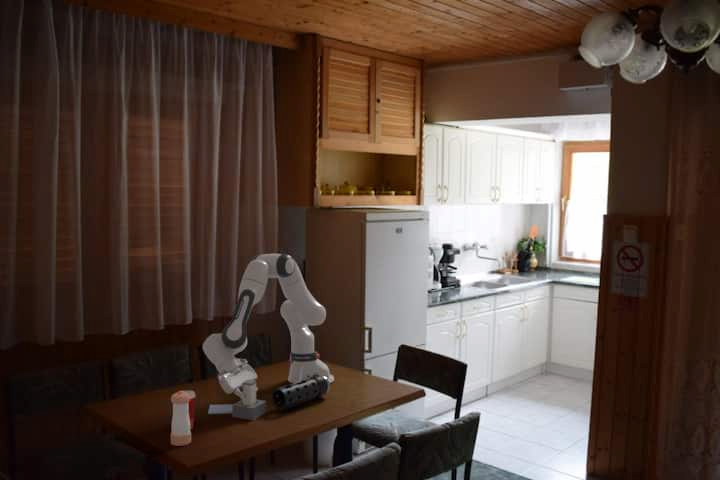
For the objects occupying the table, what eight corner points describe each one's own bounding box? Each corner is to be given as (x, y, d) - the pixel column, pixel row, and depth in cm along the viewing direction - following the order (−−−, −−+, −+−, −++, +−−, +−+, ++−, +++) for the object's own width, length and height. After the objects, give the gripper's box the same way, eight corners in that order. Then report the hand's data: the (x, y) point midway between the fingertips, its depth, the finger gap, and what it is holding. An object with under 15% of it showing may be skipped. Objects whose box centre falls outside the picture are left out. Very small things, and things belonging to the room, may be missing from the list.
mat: (233, 405, 285) (233, 404, 285) (232, 413, 276) (232, 412, 275) (210, 406, 284) (210, 404, 284) (207, 414, 274) (207, 412, 274)
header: (245, 409, 281) (245, 397, 281) (266, 412, 277) (266, 401, 277) (232, 416, 272) (232, 404, 271) (253, 420, 268) (253, 408, 268)
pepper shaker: (166, 444, 243) (166, 392, 241) (178, 437, 249) (178, 387, 248) (183, 447, 240) (182, 395, 238) (195, 440, 247) (194, 389, 245)
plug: (247, 412, 277) (247, 379, 276) (256, 414, 276) (256, 380, 274) (242, 415, 273) (242, 382, 272) (251, 417, 272) (251, 383, 271)
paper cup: (179, 424, 262) (178, 389, 261) (198, 424, 262) (198, 390, 261) (172, 431, 255) (172, 395, 254) (192, 432, 254) (192, 396, 253)
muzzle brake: (270, 409, 281) (270, 385, 280) (315, 394, 303) (315, 372, 302) (286, 415, 275) (286, 390, 275) (331, 398, 297) (331, 376, 296)
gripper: (220, 370, 266) (241, 397, 263) (247, 358, 285) (267, 383, 282) (211, 379, 268) (231, 406, 265) (238, 367, 287) (258, 392, 284)
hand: (250, 394), depth 274 cm, fingers open, 8 cm apart
